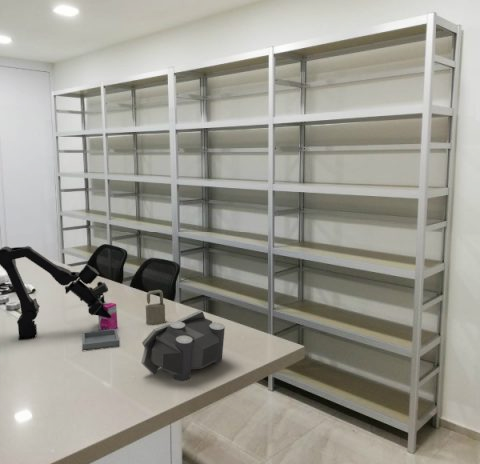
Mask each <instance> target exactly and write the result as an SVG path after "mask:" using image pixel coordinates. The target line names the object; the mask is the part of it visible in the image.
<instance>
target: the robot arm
mask: <svg viewBox="0 0 480 464" xmlns="http://www.w3.org/2000/svg"><path fill="white" fill-rule="evenodd" d="M21 258H26V259H28V260H29V261H31V262H32V263H34V264H35V265H36V266H38V267H39V268H41V269H42V270H44V271H45V272H47V273H49V274H50V275H51V277H52V278H53V279H54V280H55V281H56V282H57V283H58V284H59V285H60V286H65V287H64V289H65V294H68V293H70V292H71V293H72V294H74V295H75V296H77V298H79V301H81V302H84V303H85V304H86V305H87V307H88V313H89V314H90V315H91V316H102V317H106V318H111V315H110V314H109V313H108V312H107V310H106V309H105V308H104V304H103V303H105V302H106V301H105V295H104V294H105V293H108V291H109V288H108V286H107V284H106V282H102V281H98V282H97V284H96V286H95V287H94V288H93V287H91V286H87V285H88V284H89V285H91V284H92V283H93V282H95V280H96V279H97V277H99V275H100V272H98V270H97V269H96V268H95V267H92V266H91V265H88V264H87V263H86V264H85V266H84V267H83V268H82V269H81V270H80V271H71V270H70V269H68V268H65V267H63V266H60V265H57V264H55V263H53V261H51V260H50V259H48V258H46V257H45V256H44V255H42V254H40V253H39V252H38V251H36V250H34V249H33V248H32V247H31V246H30V245H27V246H21V247H20V246H17V247H16V246H15V247H10V246H3V247H1V248H0V266H1V267H2V269H3V270H4V271H5V272H6V274H7V276H8V278H9V280H10V283H11V286H12V287H13V289H14V292H15V294H16V296H17V299H18V301H19V305H20V311H21V313H20V315H19V317H18V319H17V321H16V324H17V326H18V327H17V329H18V341H22V340H31V339H36V336H37V334H38V330H37V329H38V327H37V324H36V321H35V319H36V318H37V316H38V314H39V311H40V305H39V303H38V301H37V298H35V297H34V298H32V297H31V296H30V294H29V291H28V290H27V288H26V285H25V282H24V281H23V279H22V276H21V274H20V272H19V270H18V267H17V262H16V260H17V259H21Z"/></svg>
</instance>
